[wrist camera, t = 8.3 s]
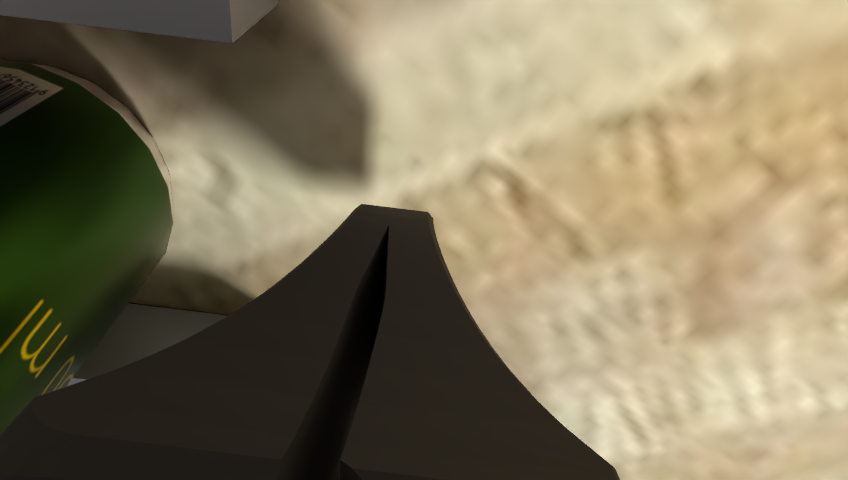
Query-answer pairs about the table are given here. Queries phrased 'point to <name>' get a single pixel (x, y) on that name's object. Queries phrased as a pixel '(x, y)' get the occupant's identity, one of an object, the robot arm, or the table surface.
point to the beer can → (69, 224)
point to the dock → (166, 15)
